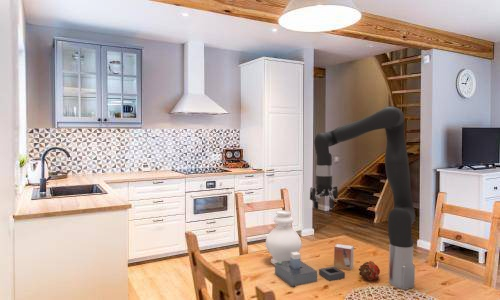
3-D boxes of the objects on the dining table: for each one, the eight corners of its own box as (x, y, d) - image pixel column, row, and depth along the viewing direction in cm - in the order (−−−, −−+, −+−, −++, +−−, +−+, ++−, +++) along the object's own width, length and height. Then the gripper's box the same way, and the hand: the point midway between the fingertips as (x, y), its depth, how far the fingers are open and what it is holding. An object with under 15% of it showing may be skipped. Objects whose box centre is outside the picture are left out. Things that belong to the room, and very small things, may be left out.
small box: (333, 268, 172) (333, 246, 171) (336, 264, 177) (336, 243, 176) (350, 271, 168) (351, 249, 168) (353, 267, 173) (353, 245, 173)
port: (317, 282, 156) (317, 269, 156) (292, 287, 151) (292, 274, 151) (297, 269, 170) (297, 258, 170) (274, 273, 166) (275, 261, 165)
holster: (344, 279, 159) (344, 272, 159) (329, 282, 156) (329, 275, 156) (333, 272, 167) (333, 266, 166) (318, 275, 163) (318, 268, 163)
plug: (300, 276, 160) (300, 254, 159) (294, 277, 159) (294, 254, 158) (296, 273, 163) (296, 251, 162) (290, 274, 162) (290, 252, 161)
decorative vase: (308, 265, 176) (308, 214, 175) (275, 270, 170) (275, 217, 168) (290, 253, 193) (291, 207, 191) (259, 258, 186) (259, 209, 185)
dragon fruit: (367, 288, 153) (367, 281, 165) (384, 278, 152) (383, 272, 163) (355, 270, 155) (356, 265, 167) (372, 260, 154) (372, 255, 165)
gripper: (315, 176, 165) (315, 211, 166) (341, 174, 171) (341, 208, 172) (306, 174, 172) (306, 208, 173) (331, 173, 178) (331, 206, 179)
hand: (323, 208), depth 173 cm, fingers open, 8 cm apart
